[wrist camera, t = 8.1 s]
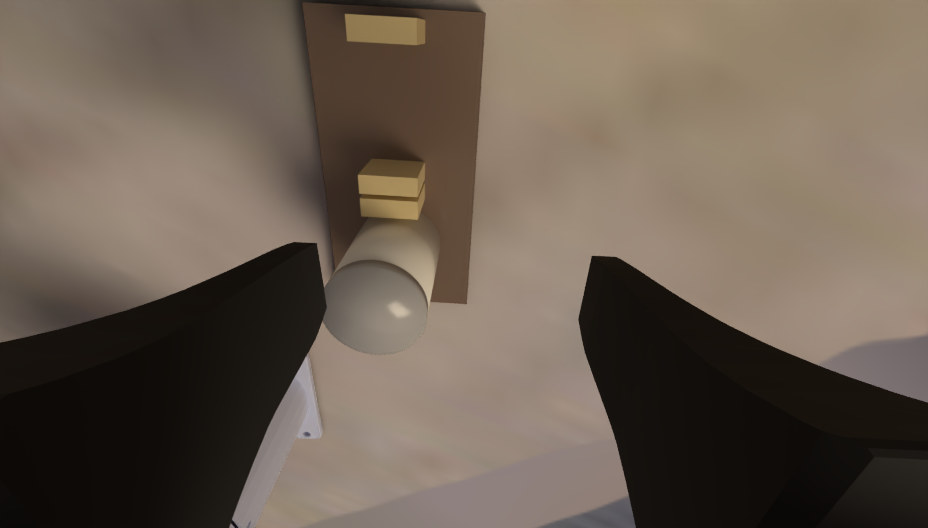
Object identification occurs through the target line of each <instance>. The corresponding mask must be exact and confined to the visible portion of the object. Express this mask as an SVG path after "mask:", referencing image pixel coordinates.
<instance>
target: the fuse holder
mask: <svg viewBox="0 0 928 528" xmlns="http://www.w3.org/2000/svg"><path fill="white" fill-rule="evenodd" d="M302 4H303V13H304V21H305V29H306V37H307V45H308V53H309V61H310V69H311V78H312V86H313V94H314V102H315V110H316V118H317V126H318V135H319V143H320V151H321V159H322V167H323V175H324V183H325V191H326V200H327V208H328V216H329V224H330V232H331V240H332V248H333V257H334V265H335V270H336V268H337V267H338V265H339V263H340V262H341V260H342V258H343V257H344V255H345V254H346V252H347V250H348V249H349V247H350V245H351V244H352V242H353V241H354V239H355V237H356V236H357V234H358V232H359V231H360V229H361V228H362V226H363V224H364V223H365V221H366V220H367V218H368V217H380V218H396V219H412V220H418V218H419V215H420V212H422V213H423V214H425V215H426V216H427V217H428V218H429V219H430V220H431V221H432V222H433V223H434V225H435V226H436V228H437V230H438V233H439V236H440V252H439V258H438V263H437V268H436V273H435V279H434V284H433V289H432V294H431V299H430V302H442V303H458V304H467V291H468V276H469V261H470V245H471V230H472V214H473V199H474V184H475V168H476V153H477V138H478V122H479V107H480V92H481V76H482V61H483V46H484V30H485V15H486V13H482V12H465V11H447V10H430V9H412V8H395V7H378V6H360V5H343V4H325V3H308V2H302Z"/></svg>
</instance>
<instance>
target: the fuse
mask: <svg viewBox="0 0 928 528" xmlns="http://www.w3.org/2000/svg"><path fill="white" fill-rule="evenodd" d="M439 252H440V236H439V233H438V230H437V228H436V226H435V225H434V223H433V222H432V221H431V220H430V219H429V218H428V217H427V216H426V215H425V214H423V213H422V212H420V215H419V218H418V220H412V219H396V218H380V217H368V218H367V220H366V221H365V223H364V224H363V226H362V228H361V229H360V231H359V232H358V234H357V236H356V237H355V239H354V241H353V242H352V244H351V245H350V247H349V249H348V250H347V252H346V254H345V255H344V257H343V258H342V260H341V262H340V263H339V265H338V267H337V268H336V270H335V271H334V273H333V275H332V276H331V278H330V280H329V281H328V283H327V284H326V286H325V288H324V292H325V298H326V305H327V309H326V312H325V315H324V317H323V322H324V324H325V326H326V328H327V329H328V330H329V332H330V333H331V334H332V335H333V336H334V337H335V338H336V339H337V340H339V341H340V342H341V343H343V344H344V345H346V346H348V347H350V348H352V349H354V350H356V351H359V352H363V353H367V354H374V355H387V354H393V353H397V352H400V351H403V350H405V349H407V348H408V347H410V346H412V345H413V344H414V343H415V342H416V341H417V340H418V339H419V338H420V336H421V335H422V333H423V331H424V329H425V325H426V320H427V315H428V310H429V305H430V299H431V294H432V289H433V284H434V279H435V273H436V268H437V263H438V258H439Z"/></svg>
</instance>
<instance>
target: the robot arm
mask: <svg viewBox="0 0 928 528" xmlns="http://www.w3.org/2000/svg"><path fill="white" fill-rule="evenodd" d="M326 309H327V305H326V298H325V292H324V286H323V280H322V273H321V267H320V261H319V255H318V248H317V243H301V242H293V243H289V244H286V245H284V246H281V247H279V248H276V249H274V250H272V251H270V252H267V253H265V254H263V255H261V256H259V257H257V258H254V259H252V260H250V261H248V262H246V263H244V264H242V265H240V266H237V267H235V268H233V269H231V270H229V271H227V272H224V273H222V274H220V275H217V276H215V277H213V278H211V279H208V280H206V281H204V282H201V283H199V284H197V285H194V286H192V287H190V288H187V289H185V290H182V291H180V292H177V293H175V294H172V295H169V296H167V297H164V298H161V299H159V300H156V301H153V302H150V303H147V304H144V305H141V306H138V307H135V308H132V309H129V310H126V311H123V312H119V313H116V314H112V315H109V316H105V317H102V318H98V319H95V320H91V321H88V322H84V323H81V324H77V325H74V326H70V327H66V328H62V329H59V330H54V331H50V332H46V333H42V334H38V335H33V336H29V337H25V338H20V339H15V340H11V341H6V342H1V343H0V528H255V526H256V524H257V522H258V520H259V518H260V515H261V513H262V511H263V509H264V507H265V504H266V502H267V500H268V498H269V496H270V494H271V491H272V489H273V487H274V485H275V483H276V480H277V478H278V476H279V474H280V472H281V470H282V467H283V465H284V463H285V461H286V459H287V456H288V454H289V452H290V450H291V448H292V446H293V443H294V441H295V439H296V438H306V439H318V438H320V437H321V435H322V433H323V430H322V424H321V419H320V413H319V408H318V402H317V397H316V391H315V386H314V380H313V375H312V369H311V364H310V358H309V354H308V352H309V350H310V348H311V346H312V345H313V343H314V341H315V339H316V336H317V334H318V331H319V329H320V326H321V323H322V320H323V317H324V315H325V312H326ZM578 320H579V325H580V331H581V336H582V341H583V346H584V350H585V354H586V357H587V360H588V363H589V365H590V368H591V371H592V374H593V377H594V380H595V382H596V385H597V388H598V391H599V393H600V396H601V399H602V402H603V404H604V407H605V410H606V413H607V415H608V418H609V421H610V424H611V427H612V430H613V433H614V436H615V440H616V443H617V447H618V451H619V455H620V459H621V463H622V467H623V471H624V476H625V480H626V484H627V489H628V493H629V498H630V502H631V507H632V511H633V516H634V521H635V525H636V528H928V403H927V402H924V401H920V400H917V399H913V398H910V397H907V396H904V395H900V394H897V393H894V392H891V391H888V390H885V389H882V388H880V387H876V386H874V385H871V384H868V383H865V382H862V381H859V380H856V379H853V378H850V377H847V376H845V375H842V374H839V373H836V372H834V371H831V370H829V369H826V368H823V367H821V366H818V365H816V364H813V363H811V362H808V361H806V360H803V359H801V358H799V357H796V356H794V355H791V354H789V353H786V352H784V351H782V350H779V349H777V348H775V347H773V346H770V345H768V344H766V343H764V342H761V341H759V340H757V339H755V338H753V337H751V336H749V335H747V334H745V333H743V332H741V331H739V330H737V329H735V328H733V327H731V326H729V325H727V324H725V323H723V322H721V321H719V320H718V319H716V318H714V317H712V316H711V315H709V314H707V313H705V312H704V311H702V310H700V309H698V308H697V307H695V306H693V305H692V304H690V303H688V302H687V301H685V300H683V299H682V298H680V297H679V296H677V295H675V294H674V293H672V292H671V291H669V290H668V289H666V288H665V287H663V286H661V285H660V284H658V283H657V282H655V281H654V280H652V279H651V278H649V277H648V276H646V275H645V274H643V273H642V272H640V271H639V270H637V269H636V268H634V267H633V266H631V265H629V264H628V263H626V262H624V261H623V260H621V259H619V258H617V257H606V256H592V258H591V263H590V267H589V272H588V277H587V282H586V286H585V291H584V296H583V300H582V305H581V310H580V314H579V319H578Z"/></svg>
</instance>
